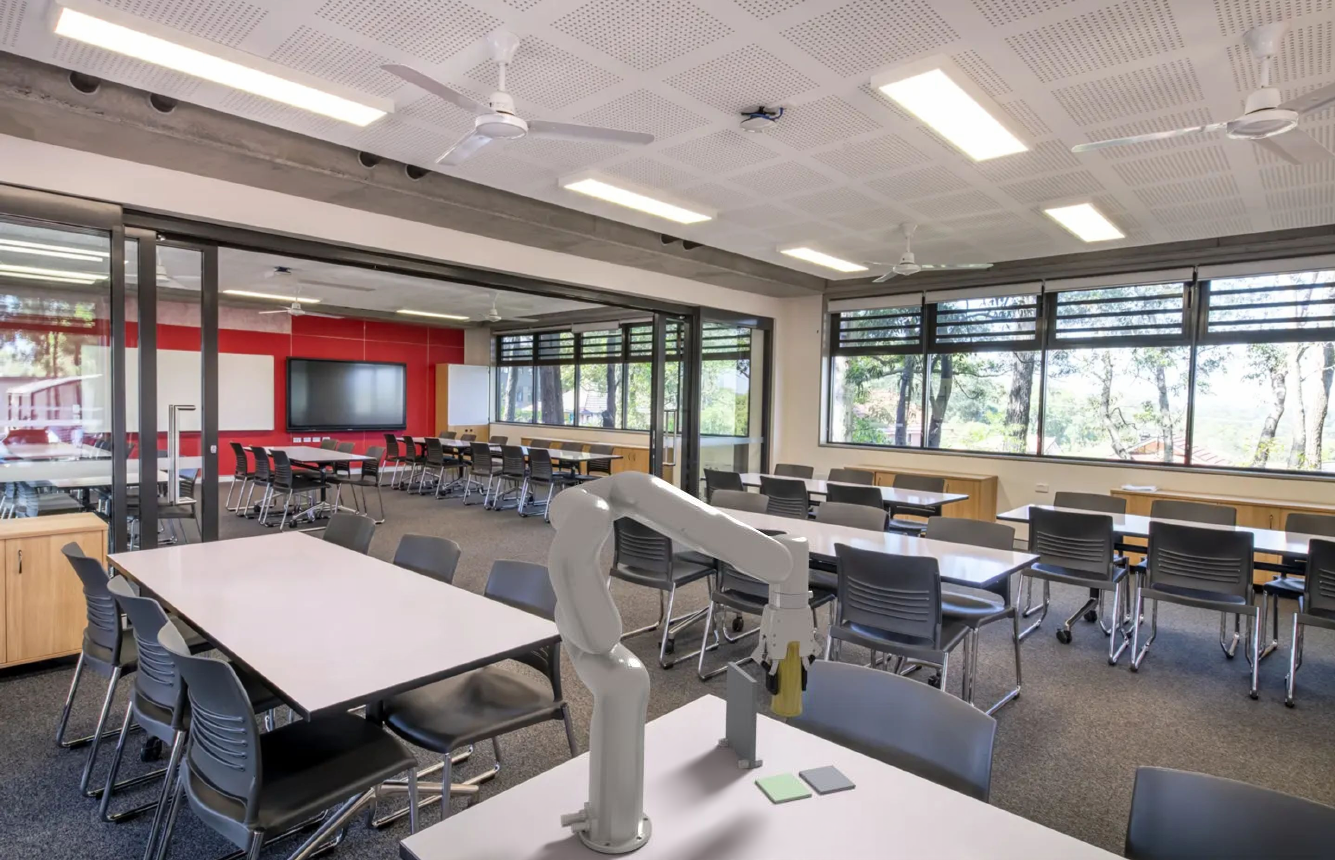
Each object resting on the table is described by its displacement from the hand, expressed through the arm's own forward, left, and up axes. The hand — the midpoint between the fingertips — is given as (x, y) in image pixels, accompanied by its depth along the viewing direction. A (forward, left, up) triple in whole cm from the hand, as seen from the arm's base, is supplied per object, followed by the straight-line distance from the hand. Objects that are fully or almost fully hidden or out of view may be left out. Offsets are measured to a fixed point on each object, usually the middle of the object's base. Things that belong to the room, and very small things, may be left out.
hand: (786, 689), depth 135 cm
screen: (-2, +15, -20) cm, 25 cm away
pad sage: (0, 0, -20) cm, 20 cm away
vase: (0, 0, -4) cm, 4 cm away
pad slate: (+10, 0, -20) cm, 22 cm away
